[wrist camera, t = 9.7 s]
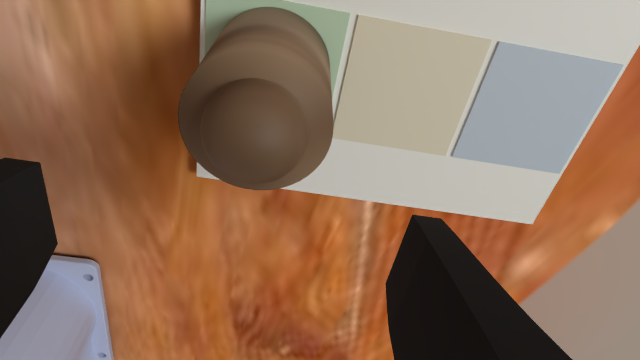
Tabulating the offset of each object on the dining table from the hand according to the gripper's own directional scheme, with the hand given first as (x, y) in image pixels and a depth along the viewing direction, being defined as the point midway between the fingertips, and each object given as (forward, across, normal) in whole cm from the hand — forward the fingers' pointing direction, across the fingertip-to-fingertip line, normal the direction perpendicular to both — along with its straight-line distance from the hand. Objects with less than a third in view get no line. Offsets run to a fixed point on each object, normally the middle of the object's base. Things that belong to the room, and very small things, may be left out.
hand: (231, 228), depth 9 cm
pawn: (+9, 0, 0) cm, 9 cm away
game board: (+10, -5, 0) cm, 11 cm away
